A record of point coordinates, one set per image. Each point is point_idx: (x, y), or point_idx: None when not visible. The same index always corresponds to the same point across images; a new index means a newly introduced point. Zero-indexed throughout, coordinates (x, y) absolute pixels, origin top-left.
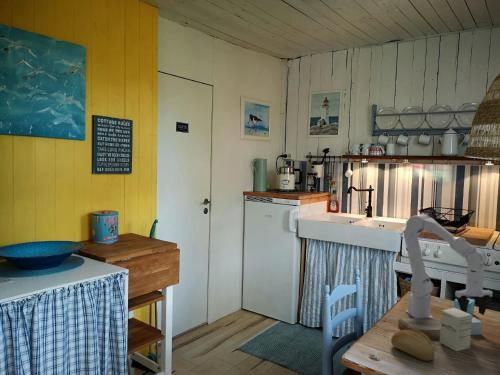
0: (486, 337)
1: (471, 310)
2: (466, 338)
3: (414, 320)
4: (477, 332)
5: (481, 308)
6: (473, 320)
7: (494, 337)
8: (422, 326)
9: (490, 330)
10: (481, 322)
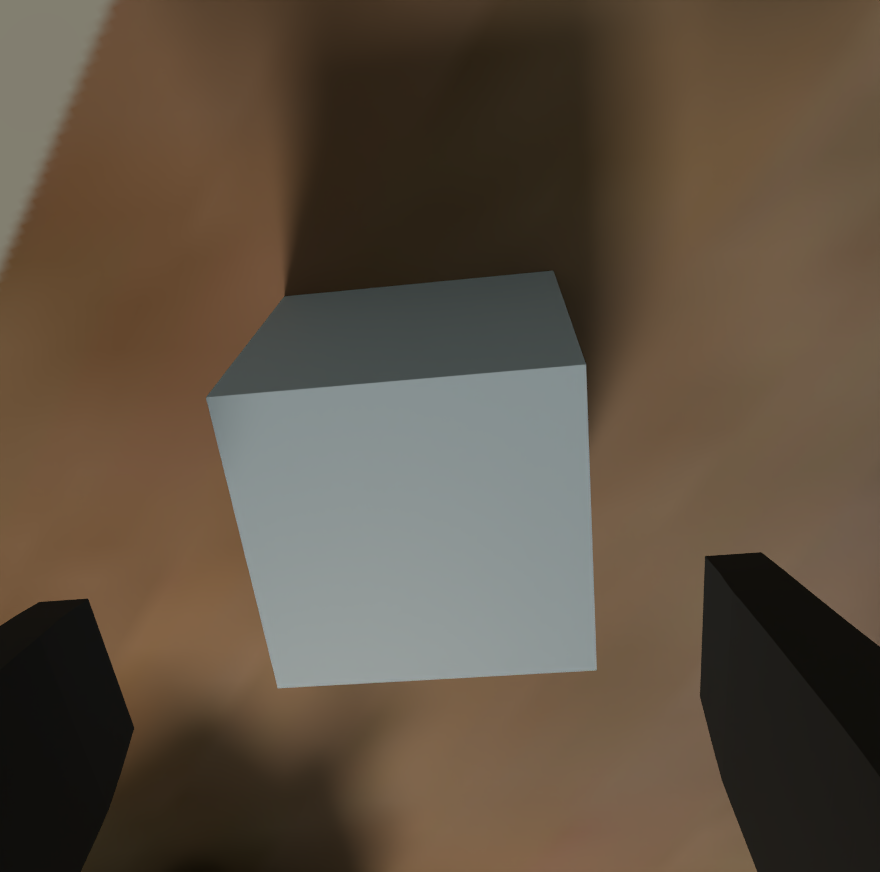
0: (253, 142)
1: None
2: None
3: None
4: (371, 298)
5: (6, 814)
6: (404, 497)
7: (73, 146)
8: None
9: (18, 456)
10: (231, 393)
